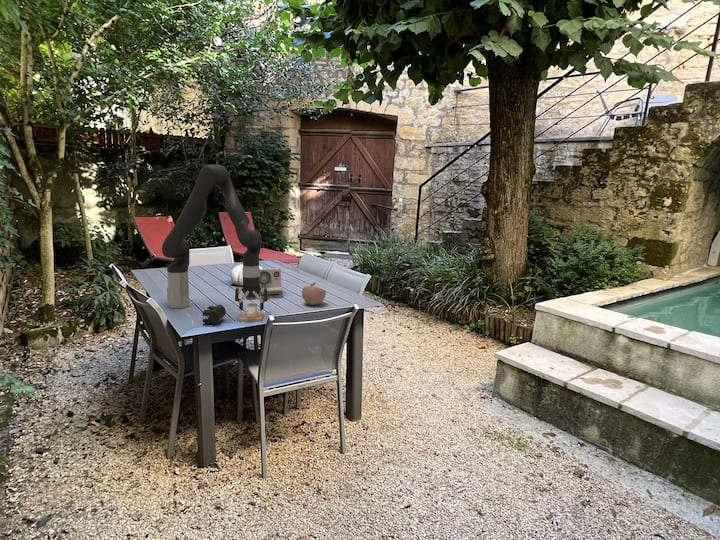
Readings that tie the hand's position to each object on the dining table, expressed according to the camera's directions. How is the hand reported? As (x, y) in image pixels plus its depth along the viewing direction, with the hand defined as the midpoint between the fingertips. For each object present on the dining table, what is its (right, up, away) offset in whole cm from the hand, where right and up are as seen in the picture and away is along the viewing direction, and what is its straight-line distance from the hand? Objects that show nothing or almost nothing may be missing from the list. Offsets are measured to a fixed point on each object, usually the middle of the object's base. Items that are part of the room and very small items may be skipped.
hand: (251, 310), depth 196 cm
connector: (0, -3, -1) cm, 3 cm away
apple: (+25, 0, +25) cm, 36 cm away
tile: (0, -4, +1) cm, 4 cm away
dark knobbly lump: (-14, -5, -7) cm, 17 cm away
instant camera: (-4, +4, +41) cm, 42 cm away
